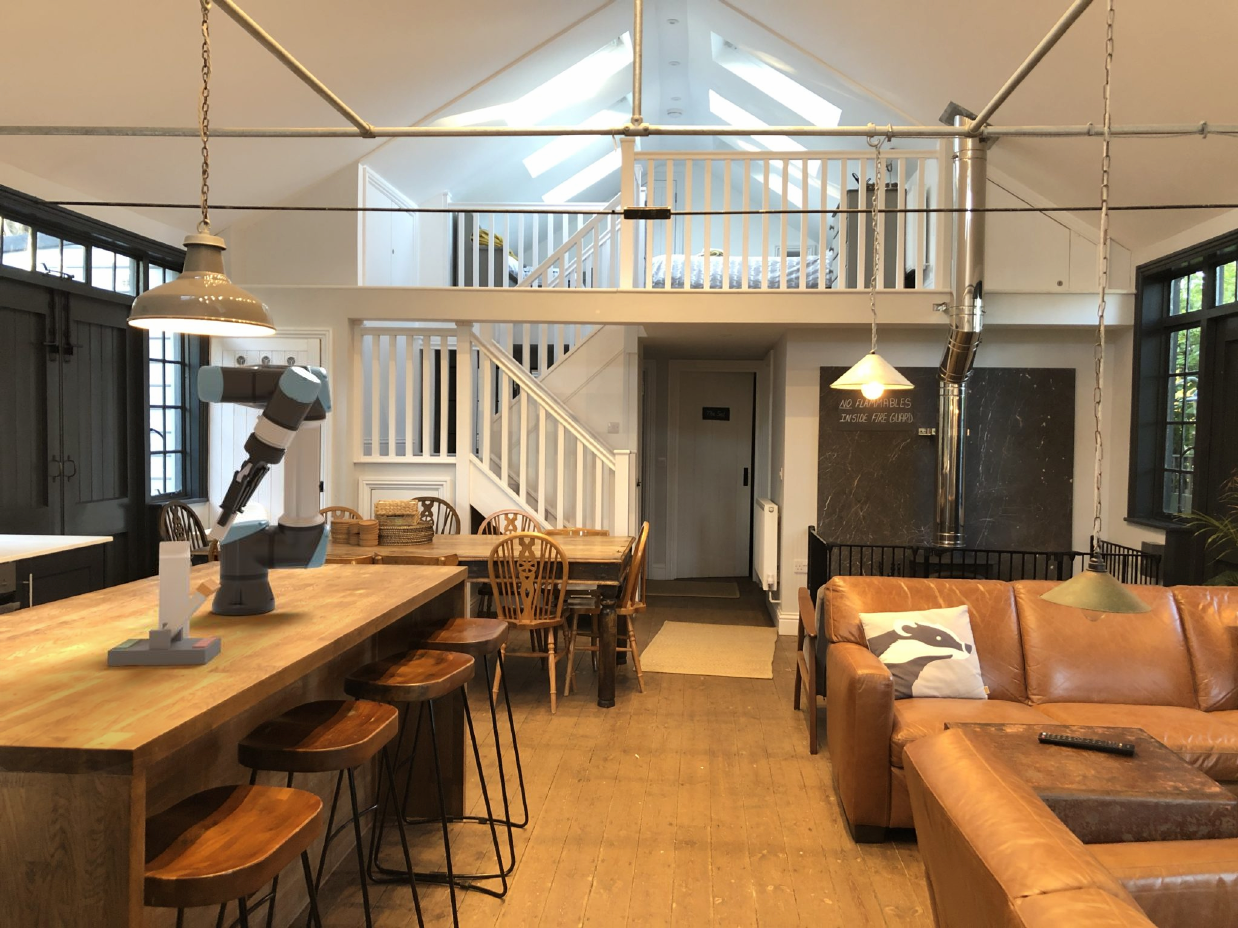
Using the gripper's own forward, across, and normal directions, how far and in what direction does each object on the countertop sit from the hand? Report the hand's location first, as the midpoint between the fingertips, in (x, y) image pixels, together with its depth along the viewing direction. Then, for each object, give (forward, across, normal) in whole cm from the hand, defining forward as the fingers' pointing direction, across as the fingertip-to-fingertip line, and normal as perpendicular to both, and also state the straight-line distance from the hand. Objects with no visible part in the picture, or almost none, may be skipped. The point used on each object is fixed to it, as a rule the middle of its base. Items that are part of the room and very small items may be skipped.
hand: (215, 537), depth 172 cm
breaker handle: (+23, +4, +2) cm, 23 cm away
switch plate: (+26, +4, +4) cm, 26 cm away
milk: (+31, -11, 0) cm, 32 cm away
